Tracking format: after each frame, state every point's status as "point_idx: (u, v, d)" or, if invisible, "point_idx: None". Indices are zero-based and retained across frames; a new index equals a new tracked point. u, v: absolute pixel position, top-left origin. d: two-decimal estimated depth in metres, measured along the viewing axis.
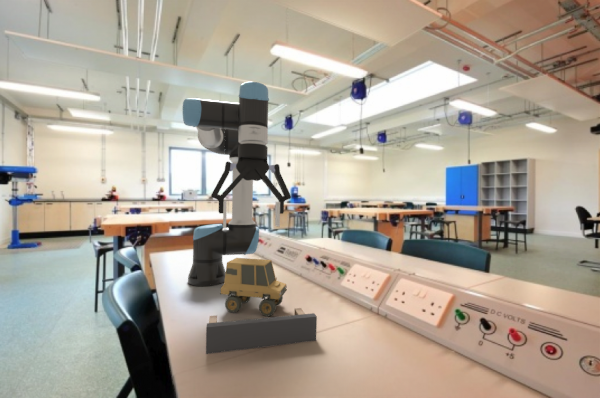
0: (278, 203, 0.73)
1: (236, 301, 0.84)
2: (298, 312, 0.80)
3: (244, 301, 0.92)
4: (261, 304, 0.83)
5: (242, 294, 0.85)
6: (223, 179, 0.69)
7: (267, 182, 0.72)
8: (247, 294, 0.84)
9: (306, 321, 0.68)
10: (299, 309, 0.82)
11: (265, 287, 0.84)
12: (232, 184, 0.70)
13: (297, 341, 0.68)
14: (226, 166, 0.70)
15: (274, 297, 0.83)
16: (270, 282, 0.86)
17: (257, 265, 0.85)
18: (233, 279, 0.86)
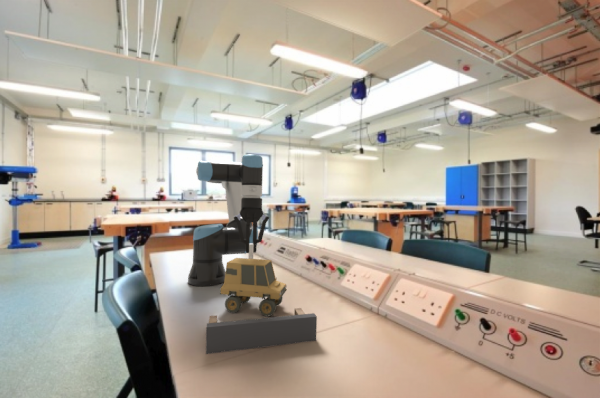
0: (252, 245, 1.01)
1: (236, 301, 0.84)
2: (298, 312, 0.80)
3: (244, 301, 0.92)
4: (261, 304, 0.83)
5: (242, 294, 0.85)
6: (240, 228, 1.00)
7: (254, 226, 1.01)
8: (247, 294, 0.84)
9: (306, 321, 0.68)
10: (299, 309, 0.82)
11: (265, 287, 0.84)
12: (247, 230, 1.01)
13: (297, 341, 0.68)
14: (236, 220, 0.99)
15: (274, 297, 0.83)
16: (270, 282, 0.86)
17: (257, 265, 0.84)
18: (233, 279, 0.86)
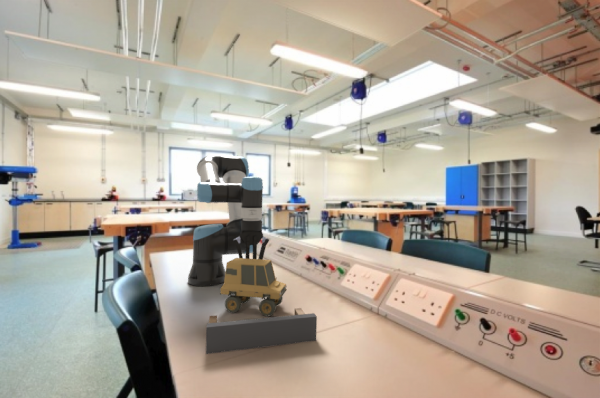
0: None
1: (236, 301, 0.84)
2: (298, 312, 0.80)
3: (244, 301, 0.92)
4: (261, 304, 0.83)
5: (242, 294, 0.84)
6: (240, 251, 0.99)
7: (254, 249, 1.00)
8: (247, 294, 0.84)
9: (306, 321, 0.68)
10: (299, 309, 0.82)
11: (265, 287, 0.84)
12: (247, 253, 1.00)
13: (297, 341, 0.68)
14: (235, 243, 0.99)
15: (274, 297, 0.83)
16: (270, 282, 0.86)
17: (257, 265, 0.84)
18: (232, 279, 0.86)
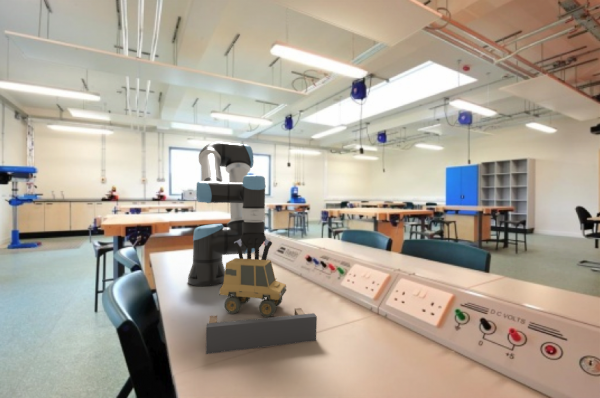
0: None
1: (235, 302, 0.84)
2: (298, 312, 0.80)
3: (243, 302, 0.91)
4: (261, 305, 0.82)
5: (242, 295, 0.84)
6: (241, 255, 0.92)
7: (256, 252, 0.94)
8: (246, 295, 0.84)
9: (306, 321, 0.68)
10: (299, 309, 0.82)
11: (265, 288, 0.83)
12: (248, 257, 0.93)
13: (297, 341, 0.68)
14: (236, 246, 0.92)
15: (274, 298, 0.82)
16: (270, 282, 0.85)
17: (257, 265, 0.84)
18: (232, 279, 0.85)
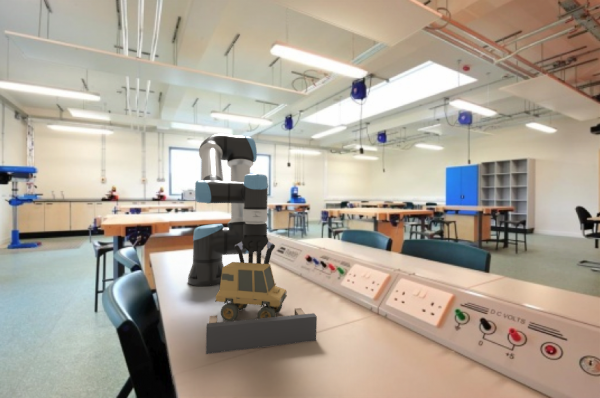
0: None
1: (233, 309, 0.78)
2: (298, 312, 0.80)
3: (241, 308, 0.86)
4: (260, 312, 0.77)
5: (239, 301, 0.78)
6: (242, 258, 0.87)
7: (258, 256, 0.88)
8: (244, 301, 0.78)
9: (306, 321, 0.68)
10: (299, 309, 0.82)
11: (264, 294, 0.78)
12: (250, 261, 0.88)
13: (297, 341, 0.68)
14: (237, 249, 0.86)
15: (274, 304, 0.77)
16: (269, 288, 0.80)
17: (255, 270, 0.79)
18: (229, 285, 0.80)
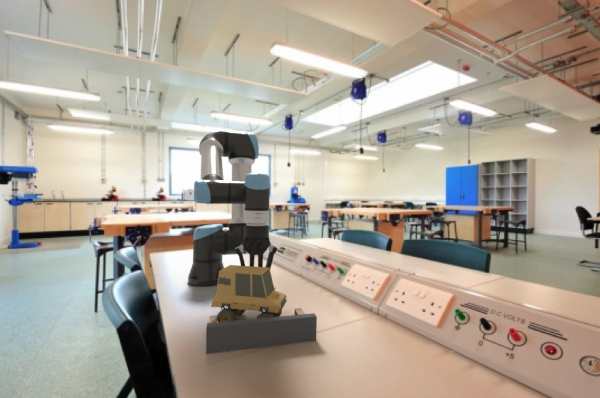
0: None
1: (230, 315, 0.74)
2: (298, 312, 0.80)
3: (239, 314, 0.82)
4: (258, 318, 0.73)
5: (236, 307, 0.75)
6: (243, 262, 0.83)
7: (260, 259, 0.84)
8: (242, 307, 0.74)
9: (306, 321, 0.68)
10: (299, 309, 0.82)
11: (263, 299, 0.74)
12: (251, 264, 0.83)
13: (297, 341, 0.68)
14: (237, 252, 0.82)
15: (273, 310, 0.73)
16: (268, 293, 0.76)
17: (253, 274, 0.75)
18: (226, 289, 0.76)
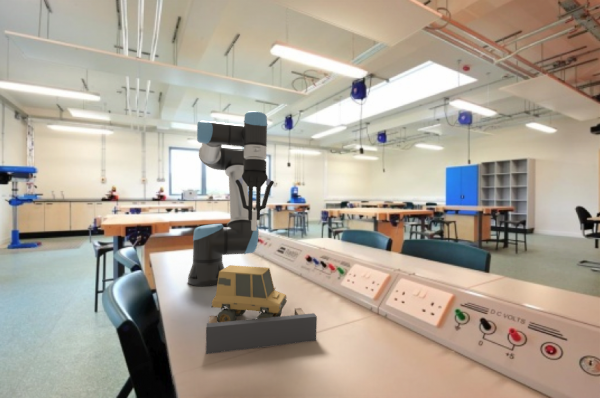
0: (255, 212, 0.92)
1: (230, 315, 0.74)
2: (298, 312, 0.80)
3: (238, 314, 0.82)
4: None
5: (236, 307, 0.74)
6: (242, 192, 0.91)
7: (258, 191, 0.92)
8: (242, 307, 0.74)
9: (306, 321, 0.68)
10: (299, 309, 0.82)
11: (263, 299, 0.74)
12: (250, 195, 0.92)
13: (297, 341, 0.68)
14: (237, 183, 0.90)
15: (273, 311, 0.73)
16: (268, 293, 0.76)
17: (254, 274, 0.75)
18: (226, 290, 0.76)
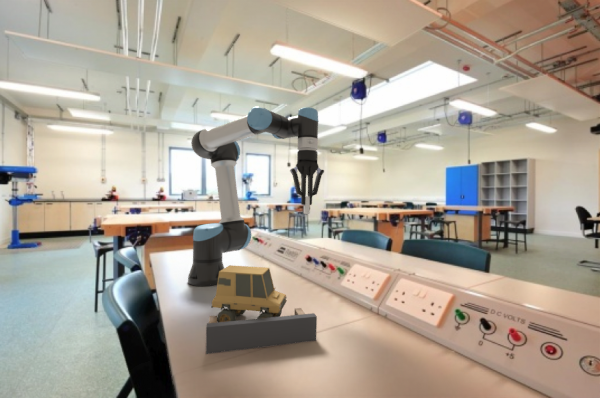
0: (308, 197, 1.03)
1: (230, 315, 0.74)
2: (298, 312, 0.80)
3: (238, 314, 0.82)
4: None
5: (237, 307, 0.74)
6: (297, 180, 1.02)
7: (310, 178, 1.03)
8: (242, 307, 0.74)
9: (306, 321, 0.68)
10: (299, 309, 0.82)
11: (263, 299, 0.74)
12: (303, 182, 1.02)
13: (297, 341, 0.68)
14: (293, 172, 1.01)
15: (273, 311, 0.73)
16: (268, 293, 0.76)
17: (254, 274, 0.75)
18: (226, 290, 0.76)
